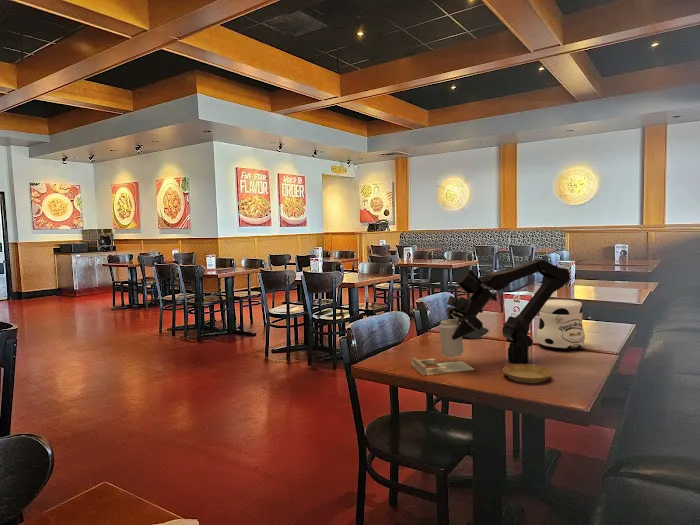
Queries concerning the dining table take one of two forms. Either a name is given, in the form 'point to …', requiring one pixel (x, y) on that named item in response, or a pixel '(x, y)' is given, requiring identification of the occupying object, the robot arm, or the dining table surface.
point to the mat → (455, 366)
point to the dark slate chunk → (476, 334)
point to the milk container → (561, 325)
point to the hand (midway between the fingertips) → (448, 336)
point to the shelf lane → (422, 367)
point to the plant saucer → (527, 373)
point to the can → (450, 338)
